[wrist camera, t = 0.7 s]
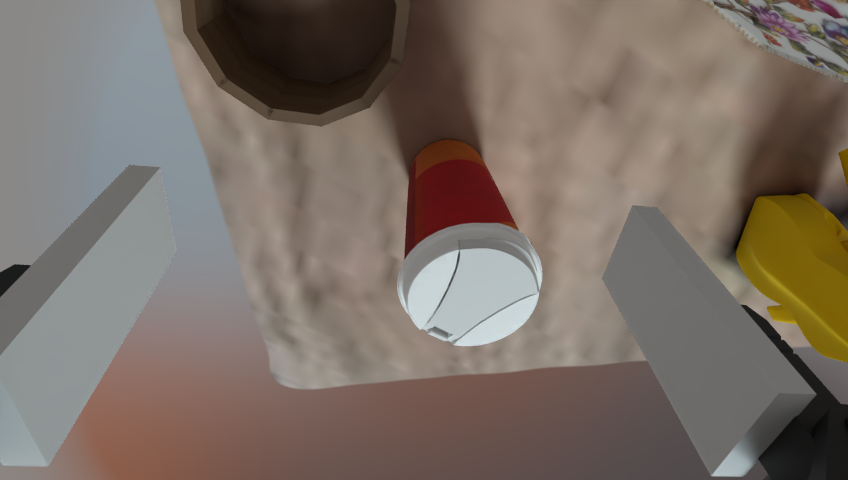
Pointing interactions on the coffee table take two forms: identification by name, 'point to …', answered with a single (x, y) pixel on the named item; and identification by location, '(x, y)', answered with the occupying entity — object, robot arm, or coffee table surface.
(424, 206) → the coffee cup
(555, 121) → the coffee table surface
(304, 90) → the ring
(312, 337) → the coffee table surface
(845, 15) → the decorative jar
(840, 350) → the figure statuette
